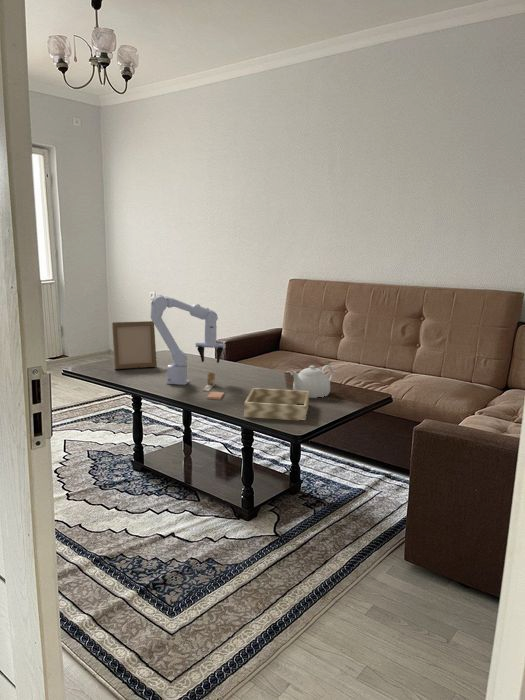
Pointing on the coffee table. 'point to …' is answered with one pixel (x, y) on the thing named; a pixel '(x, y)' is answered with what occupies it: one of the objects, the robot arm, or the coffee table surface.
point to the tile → (215, 395)
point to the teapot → (313, 381)
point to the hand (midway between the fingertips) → (210, 361)
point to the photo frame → (134, 344)
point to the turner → (210, 382)
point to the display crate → (276, 410)
